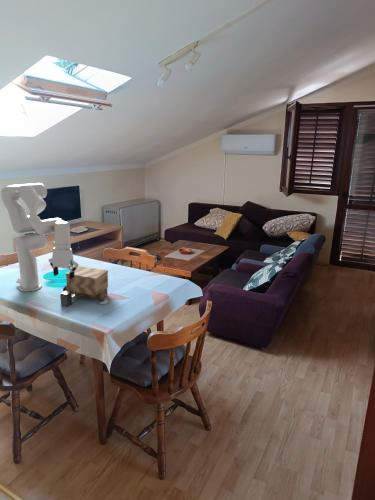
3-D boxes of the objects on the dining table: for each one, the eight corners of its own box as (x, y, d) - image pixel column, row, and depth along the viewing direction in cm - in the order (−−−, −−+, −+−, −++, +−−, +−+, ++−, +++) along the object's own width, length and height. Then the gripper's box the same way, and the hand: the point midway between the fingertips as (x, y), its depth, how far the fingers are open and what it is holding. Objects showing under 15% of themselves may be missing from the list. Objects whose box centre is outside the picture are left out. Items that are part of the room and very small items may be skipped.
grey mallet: (61, 305, 191) (60, 293, 189) (75, 296, 203) (74, 284, 201) (67, 307, 190) (66, 294, 188) (81, 297, 202) (80, 285, 200)
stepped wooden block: (67, 298, 200) (65, 273, 195) (80, 289, 212) (79, 266, 207) (96, 304, 195) (95, 278, 190) (108, 294, 207) (108, 270, 202)
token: (96, 304, 195) (96, 301, 194) (102, 300, 199) (102, 298, 199) (104, 306, 193) (104, 303, 193) (110, 302, 198) (109, 299, 197)
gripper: (43, 245, 182) (45, 276, 187) (73, 250, 177) (74, 282, 183) (52, 241, 189) (54, 271, 194) (81, 246, 184) (82, 277, 189)
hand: (64, 276), depth 188 cm, fingers open, 9 cm apart
